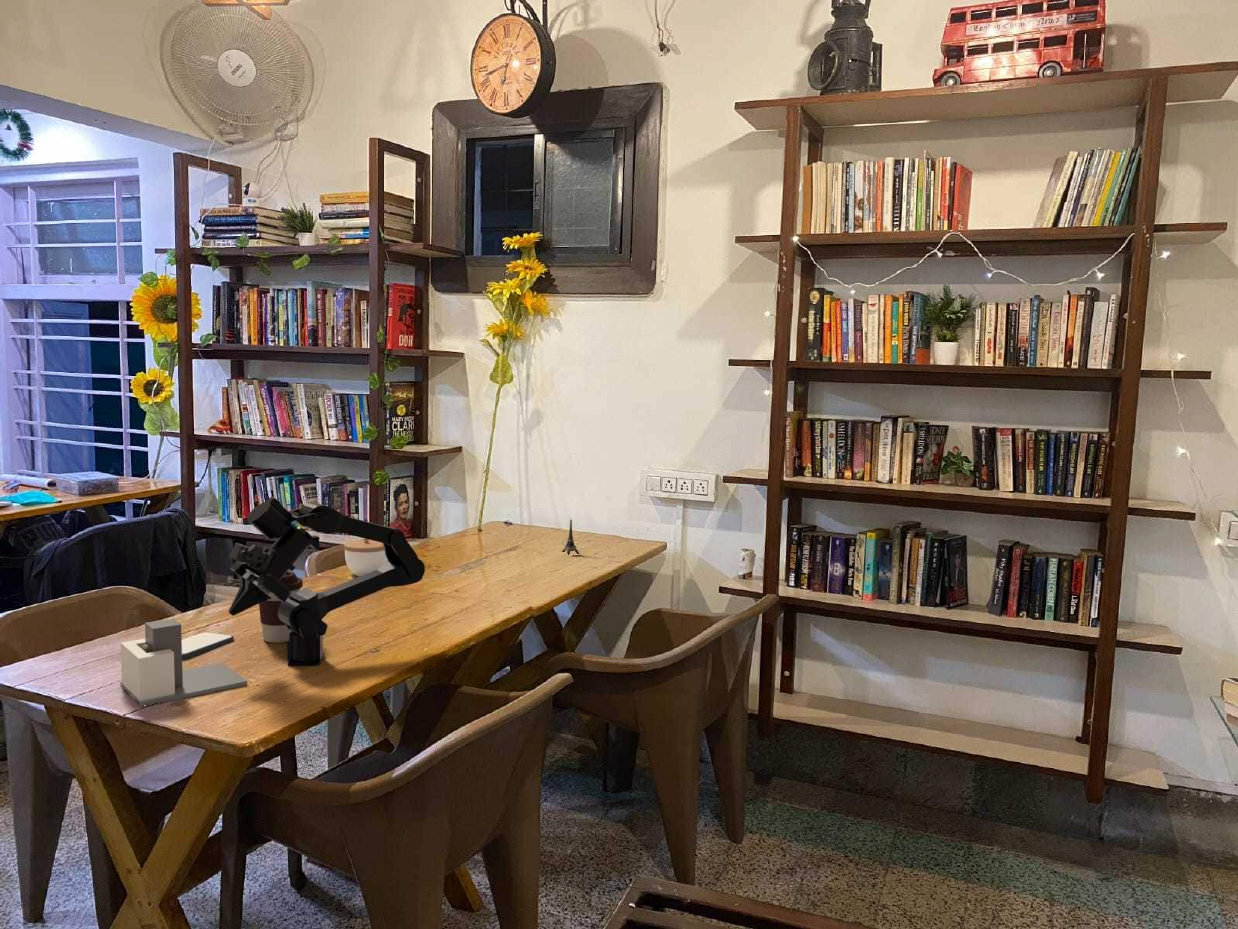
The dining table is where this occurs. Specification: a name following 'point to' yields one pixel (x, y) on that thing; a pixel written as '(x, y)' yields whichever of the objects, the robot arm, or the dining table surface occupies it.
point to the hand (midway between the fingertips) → (230, 614)
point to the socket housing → (169, 676)
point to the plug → (166, 642)
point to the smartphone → (203, 643)
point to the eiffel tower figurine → (570, 542)
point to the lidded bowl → (364, 556)
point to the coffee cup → (269, 617)
